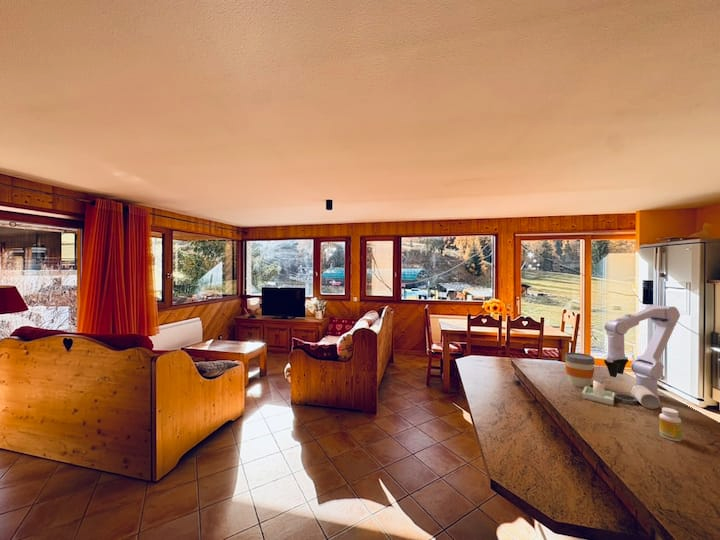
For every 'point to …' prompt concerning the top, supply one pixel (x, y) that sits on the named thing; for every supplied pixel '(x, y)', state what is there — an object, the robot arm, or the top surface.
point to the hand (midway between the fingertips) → (616, 375)
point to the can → (645, 397)
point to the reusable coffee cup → (579, 369)
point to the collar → (631, 400)
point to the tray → (607, 398)
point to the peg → (598, 388)
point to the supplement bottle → (670, 424)
